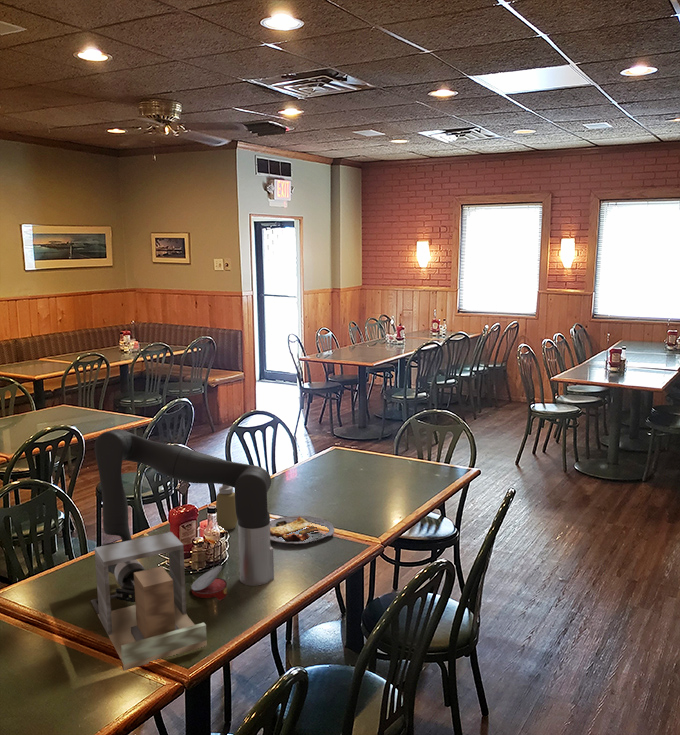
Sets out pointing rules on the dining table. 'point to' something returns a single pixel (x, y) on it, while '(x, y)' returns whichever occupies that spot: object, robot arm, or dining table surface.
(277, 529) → the food plate
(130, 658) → the tunnel
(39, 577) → the dining table surface
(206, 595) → the canned food
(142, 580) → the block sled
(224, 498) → the squeeze bottle
